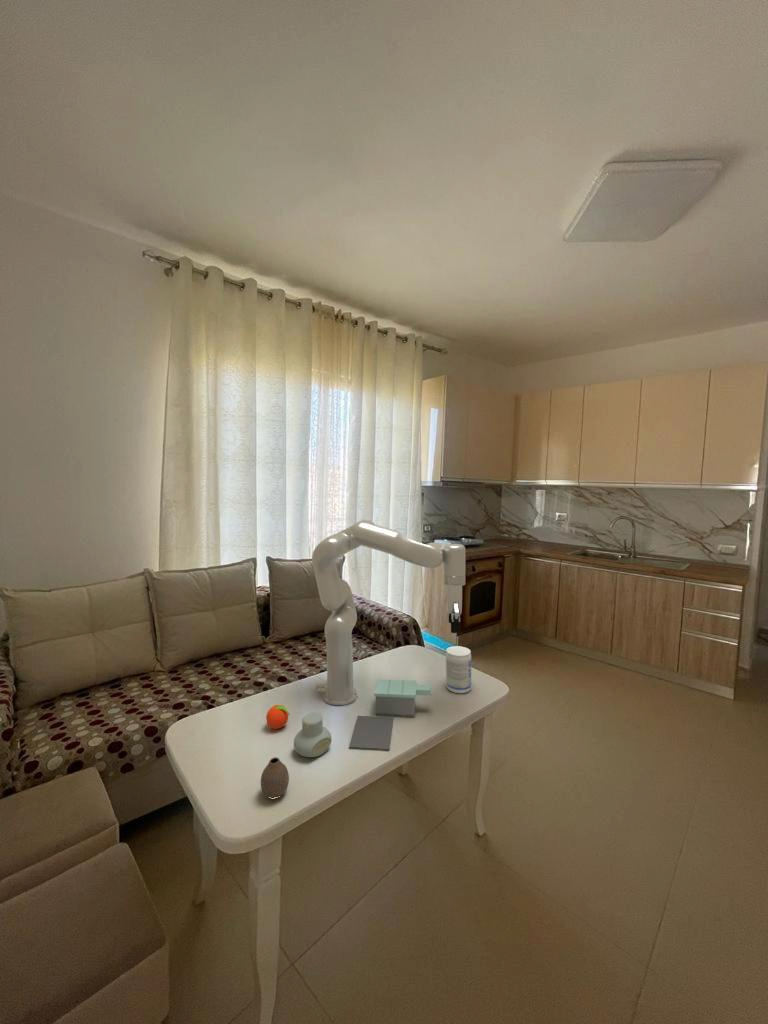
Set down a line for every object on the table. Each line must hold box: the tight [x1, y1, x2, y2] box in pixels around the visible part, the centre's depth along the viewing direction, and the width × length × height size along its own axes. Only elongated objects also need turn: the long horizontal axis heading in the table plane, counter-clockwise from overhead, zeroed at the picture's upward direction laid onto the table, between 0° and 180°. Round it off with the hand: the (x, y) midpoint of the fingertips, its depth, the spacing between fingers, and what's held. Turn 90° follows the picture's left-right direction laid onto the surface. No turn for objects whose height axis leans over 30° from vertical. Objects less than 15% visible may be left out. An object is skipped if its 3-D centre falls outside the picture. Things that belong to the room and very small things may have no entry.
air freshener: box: [293, 712, 332, 758], centre depth 116 cm, size 11×8×10 cm
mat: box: [348, 715, 394, 752], centre depth 125 cm, size 12×16×1 cm
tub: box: [375, 696, 416, 718], centre depth 138 cm, size 13×9×7 cm
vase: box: [260, 756, 290, 798], centre depth 100 cm, size 7×7×9 cm
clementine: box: [266, 704, 291, 730], centre depth 128 cm, size 8×7×7 cm
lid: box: [373, 678, 432, 699], centre depth 137 cm, size 19×10×2 cm, turn 84°
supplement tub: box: [445, 645, 472, 694], centre depth 152 cm, size 10×10×15 cm
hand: (454, 627), depth 139 cm, fingers open, 9 cm apart
